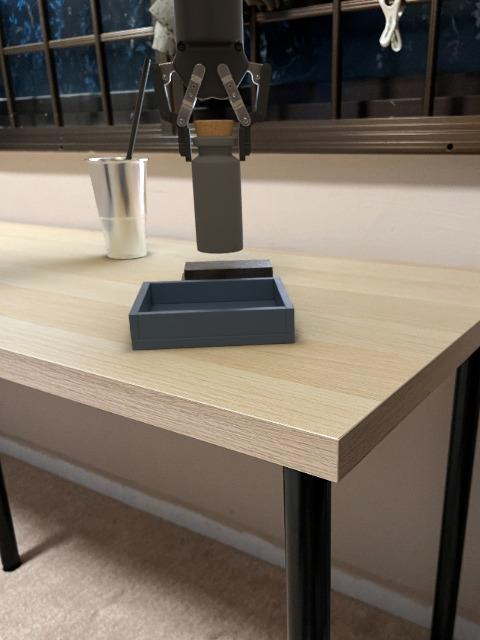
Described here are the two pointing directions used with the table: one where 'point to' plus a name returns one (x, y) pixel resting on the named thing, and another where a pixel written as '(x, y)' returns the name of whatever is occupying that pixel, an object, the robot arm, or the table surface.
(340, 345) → the table surface
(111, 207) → the glass
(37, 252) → the table surface
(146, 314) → the tray
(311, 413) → the table surface
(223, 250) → the bottle
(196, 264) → the scrub brush
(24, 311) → the table surface
